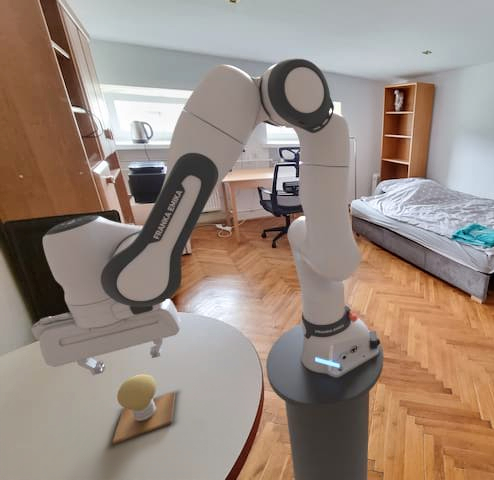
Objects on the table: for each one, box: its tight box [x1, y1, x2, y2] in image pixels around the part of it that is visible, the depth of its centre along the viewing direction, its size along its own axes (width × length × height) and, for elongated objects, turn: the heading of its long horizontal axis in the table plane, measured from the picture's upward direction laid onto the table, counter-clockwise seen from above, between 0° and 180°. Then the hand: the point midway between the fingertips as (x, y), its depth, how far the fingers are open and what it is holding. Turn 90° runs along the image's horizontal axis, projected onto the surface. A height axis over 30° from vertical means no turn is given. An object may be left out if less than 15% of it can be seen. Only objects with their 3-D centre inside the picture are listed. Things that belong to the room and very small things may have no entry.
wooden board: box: [112, 391, 176, 444], centre depth 62 cm, size 10×8×1 cm
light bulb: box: [116, 373, 157, 421], centre depth 60 cm, size 6×6×10 cm
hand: (129, 363), depth 57 cm, fingers open, 8 cm apart
